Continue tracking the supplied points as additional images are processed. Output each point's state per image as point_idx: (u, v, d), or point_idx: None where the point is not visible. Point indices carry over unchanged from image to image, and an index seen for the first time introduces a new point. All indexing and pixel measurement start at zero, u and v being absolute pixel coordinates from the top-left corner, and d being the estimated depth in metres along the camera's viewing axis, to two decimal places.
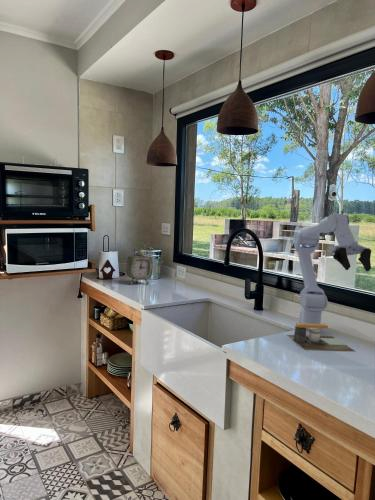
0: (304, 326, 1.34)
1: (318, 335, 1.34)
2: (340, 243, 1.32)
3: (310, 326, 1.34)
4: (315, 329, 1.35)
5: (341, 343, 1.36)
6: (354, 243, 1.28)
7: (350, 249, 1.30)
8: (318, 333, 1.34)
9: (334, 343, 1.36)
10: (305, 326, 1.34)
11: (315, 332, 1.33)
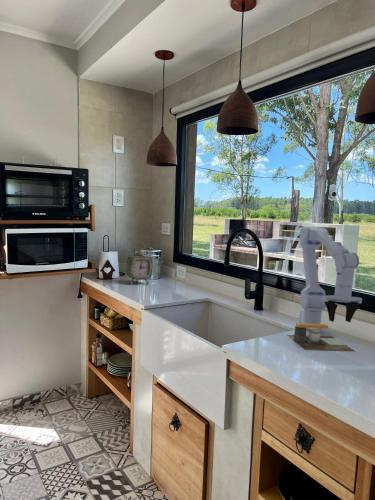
0: (304, 326, 1.34)
1: (318, 335, 1.34)
2: (336, 291, 1.35)
3: (310, 326, 1.34)
4: (315, 329, 1.35)
5: (341, 343, 1.36)
6: (347, 300, 1.32)
7: None
8: (318, 333, 1.33)
9: (334, 343, 1.36)
10: (305, 326, 1.34)
11: (315, 332, 1.33)
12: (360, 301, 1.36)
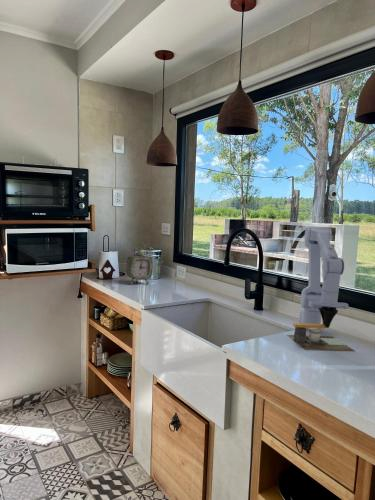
0: (301, 326, 1.33)
1: (318, 335, 1.34)
2: (322, 296, 1.34)
3: (307, 326, 1.34)
4: (315, 329, 1.35)
5: (341, 343, 1.36)
6: (333, 306, 1.32)
7: None
8: (318, 333, 1.33)
9: (334, 343, 1.36)
10: (302, 326, 1.33)
11: (315, 332, 1.33)
12: (346, 307, 1.35)
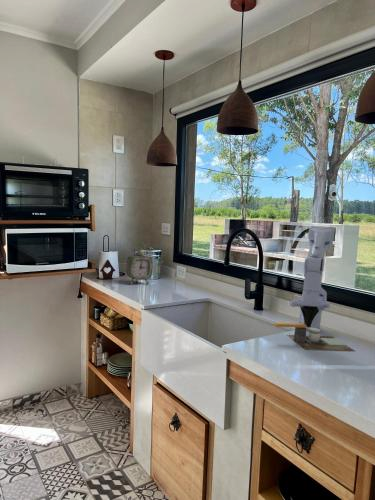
0: (282, 325, 1.32)
1: (318, 335, 1.34)
2: (303, 295, 1.33)
3: (288, 325, 1.33)
4: (315, 329, 1.35)
5: (341, 343, 1.36)
6: (313, 306, 1.31)
7: None
8: (318, 333, 1.34)
9: (334, 343, 1.36)
10: (283, 325, 1.32)
11: (315, 332, 1.33)
12: (328, 306, 1.34)
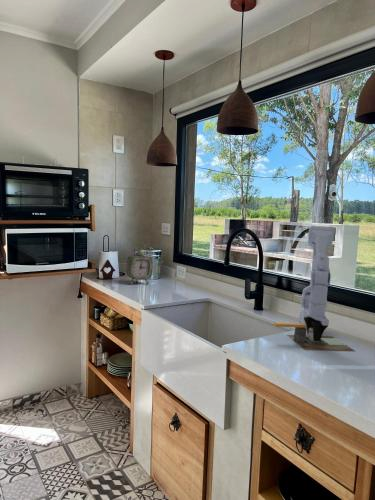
0: (282, 325, 1.32)
1: None
2: None
3: (288, 325, 1.33)
4: None
5: (341, 343, 1.36)
6: (307, 315, 1.35)
7: None
8: None
9: (334, 343, 1.36)
10: (283, 325, 1.32)
11: None
12: (322, 322, 1.28)
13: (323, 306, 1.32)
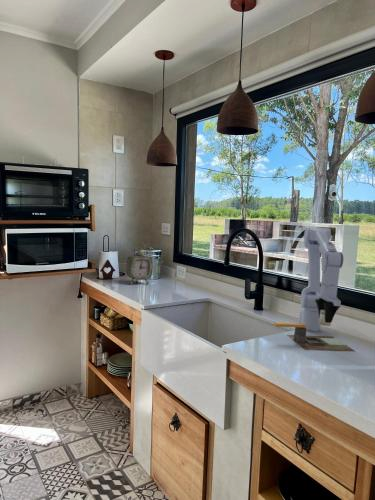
0: (282, 325, 1.32)
1: None
2: None
3: (288, 325, 1.33)
4: None
5: (341, 343, 1.36)
6: None
7: None
8: None
9: (334, 343, 1.36)
10: (283, 325, 1.32)
11: None
12: (334, 303, 1.29)
13: (335, 287, 1.32)
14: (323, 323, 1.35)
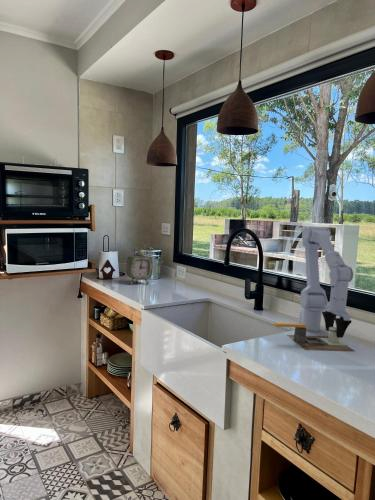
0: (282, 325, 1.32)
1: None
2: None
3: (288, 325, 1.33)
4: (335, 328, 1.37)
5: (341, 343, 1.36)
6: None
7: None
8: None
9: (334, 343, 1.36)
10: (283, 325, 1.32)
11: (335, 331, 1.36)
12: (344, 317, 1.30)
13: (344, 301, 1.34)
14: (332, 340, 1.36)
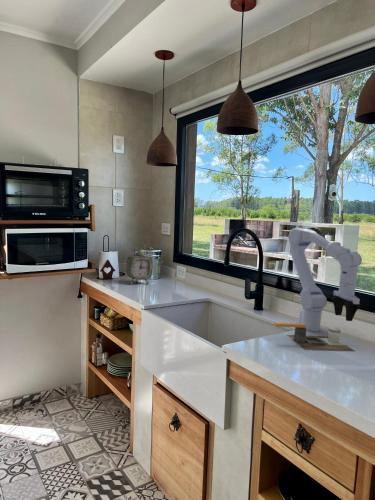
0: (282, 325, 1.32)
1: (338, 334, 1.36)
2: None
3: (288, 325, 1.33)
4: (335, 328, 1.37)
5: (341, 343, 1.36)
6: (337, 295, 1.41)
7: None
8: (338, 332, 1.36)
9: (334, 343, 1.36)
10: (283, 325, 1.32)
11: (335, 331, 1.36)
12: (353, 301, 1.34)
13: (353, 286, 1.38)
14: (332, 340, 1.36)
